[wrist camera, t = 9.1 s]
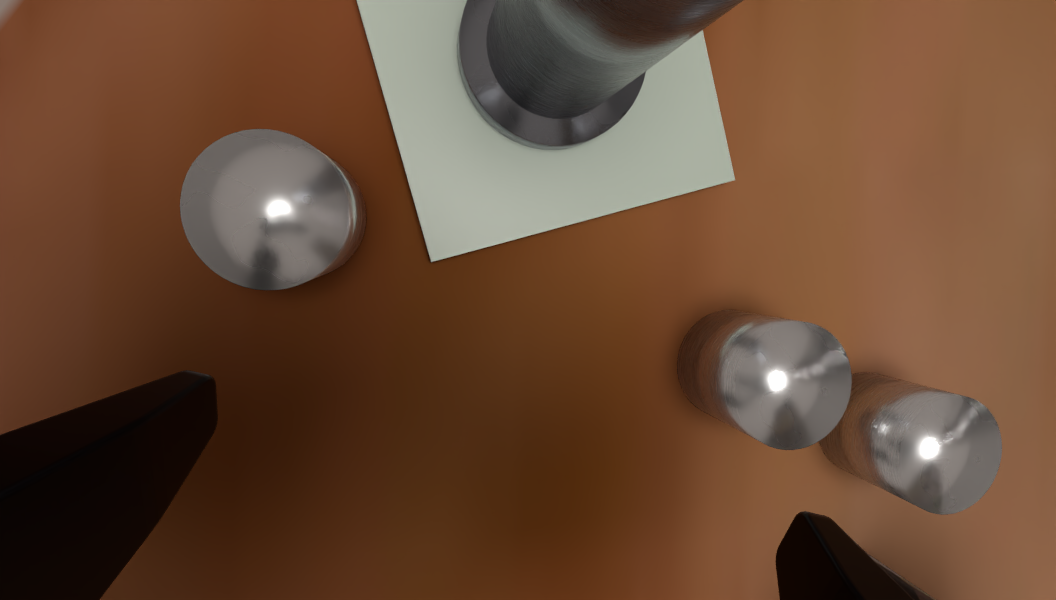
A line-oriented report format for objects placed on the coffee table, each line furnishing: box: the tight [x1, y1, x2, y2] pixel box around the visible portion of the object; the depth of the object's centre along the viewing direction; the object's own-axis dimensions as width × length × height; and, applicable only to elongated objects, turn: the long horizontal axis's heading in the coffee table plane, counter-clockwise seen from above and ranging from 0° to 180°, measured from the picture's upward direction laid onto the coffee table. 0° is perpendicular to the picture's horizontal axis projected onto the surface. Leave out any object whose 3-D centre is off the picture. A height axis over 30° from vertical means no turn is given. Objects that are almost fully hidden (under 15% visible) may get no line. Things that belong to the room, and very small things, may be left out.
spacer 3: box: [819, 372, 1002, 514], centre depth 22 cm, size 4×4×4 cm
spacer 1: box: [180, 129, 367, 290], centre depth 17 cm, size 4×4×4 cm
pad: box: [356, 0, 735, 262], centre depth 20 cm, size 11×11×1 cm
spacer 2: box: [677, 310, 852, 450], centre depth 20 cm, size 4×4×4 cm
